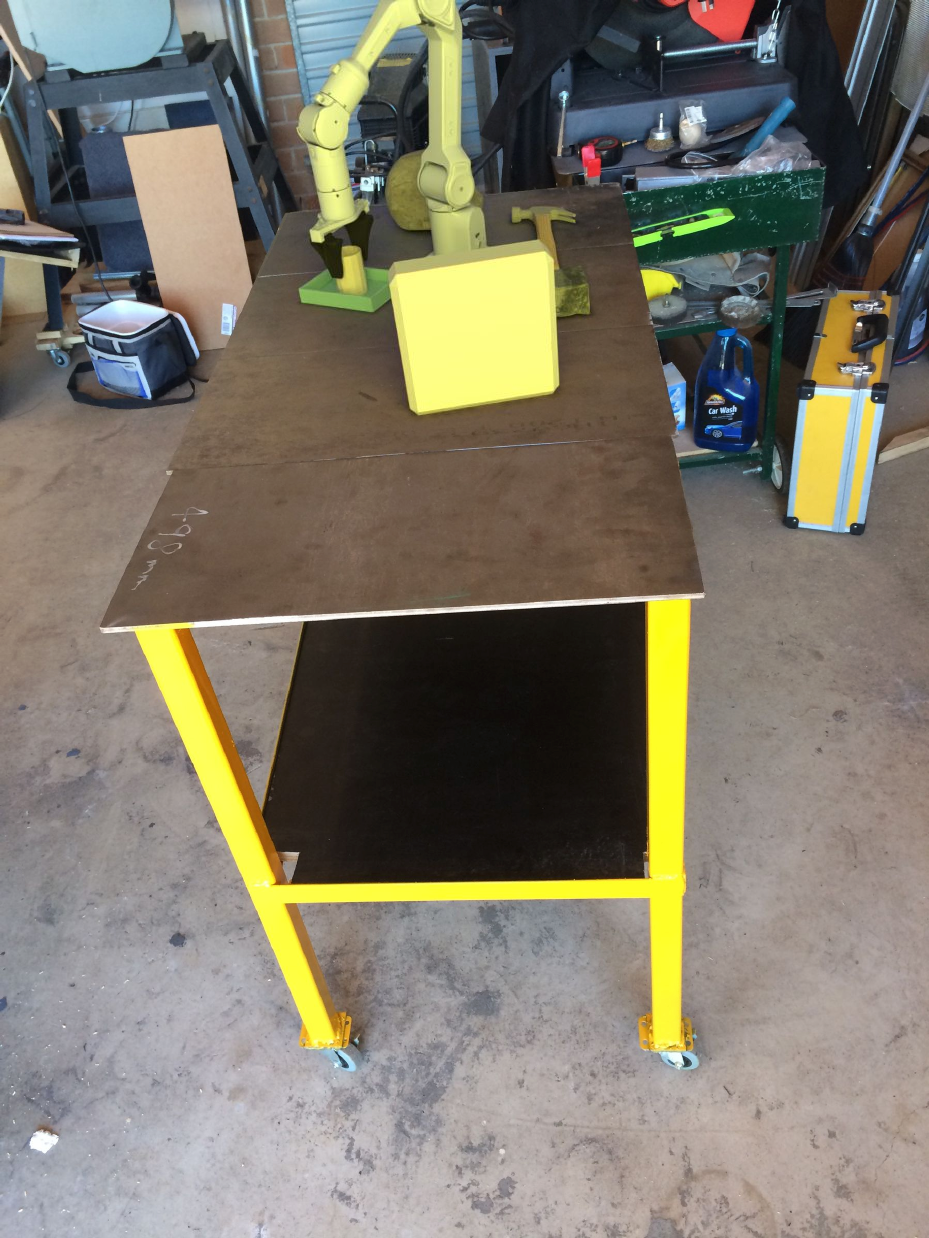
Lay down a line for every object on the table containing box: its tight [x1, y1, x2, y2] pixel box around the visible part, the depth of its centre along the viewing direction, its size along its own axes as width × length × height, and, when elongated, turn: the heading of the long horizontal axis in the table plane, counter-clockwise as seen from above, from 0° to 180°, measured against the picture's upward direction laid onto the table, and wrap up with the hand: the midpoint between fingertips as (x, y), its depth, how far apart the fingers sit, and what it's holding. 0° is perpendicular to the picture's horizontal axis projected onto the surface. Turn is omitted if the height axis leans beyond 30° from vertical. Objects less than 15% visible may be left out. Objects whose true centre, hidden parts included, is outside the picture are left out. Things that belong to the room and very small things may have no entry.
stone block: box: [554, 265, 591, 318], centre depth 150 cm, size 9×14×5 cm, turn 92°
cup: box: [335, 245, 368, 295], centre depth 162 cm, size 5×5×7 cm
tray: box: [298, 266, 392, 313], centre depth 164 cm, size 15×11×2 cm
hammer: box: [511, 205, 576, 270], centre depth 171 cm, size 12×3×30 cm
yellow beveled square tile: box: [388, 239, 560, 416], centre depth 126 cm, size 21×8×20 cm, turn 97°
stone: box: [384, 148, 484, 231], centre depth 179 cm, size 19×7×15 cm, turn 77°
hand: (349, 268), depth 162 cm, fingers open, 7 cm apart
